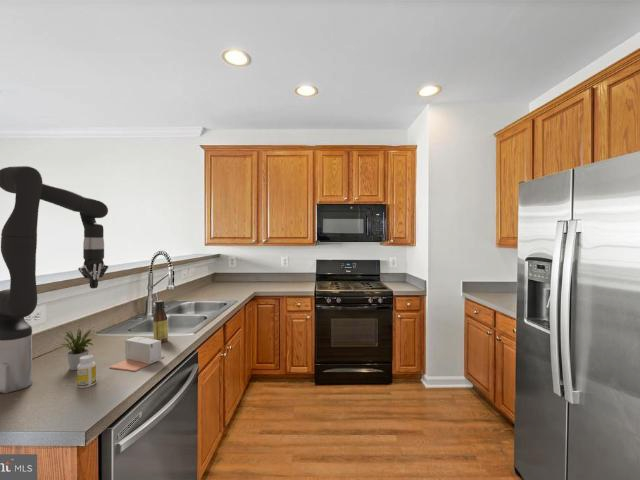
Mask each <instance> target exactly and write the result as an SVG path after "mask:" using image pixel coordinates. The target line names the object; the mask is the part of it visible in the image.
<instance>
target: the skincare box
mask: <svg viewBox="0 0 640 480" xmlns="http://www.w3.org/2000/svg"><path fill="white" fill-rule="evenodd" d="M124 351H125V352H124V354H125V357H124V360H127V359H129V360H134V361H138V362H142V363H146V364H150V365H151V363H152V364H154V363H156V362H159V361H161V360H162V359H161V356H162V343H161V341H160V340H154V338H153V339H152V338H148V337H142V336H134V337H131V338H128V339H125V340H124Z"/></svg>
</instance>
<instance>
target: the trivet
mask: <svg viewBox="0 0 640 480" xmlns="http://www.w3.org/2000/svg"><path fill="white" fill-rule="evenodd" d="M164 358H165V356H164V355H161V360H162V359H164ZM151 364H153V363H151ZM151 364H146V363H142V362H138V361H134V360H129V359H124V360H122V361H120V362H118V363H115V364H113V365H111V366H109V369H112V370H119V371H127V372H134V373H135V372H137V371H140V370H142V369H143V368H145V367H147V366H149V365H151Z"/></svg>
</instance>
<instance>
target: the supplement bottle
mask: <svg viewBox="0 0 640 480" xmlns="http://www.w3.org/2000/svg"><path fill="white" fill-rule="evenodd" d="M94 359H95V358H94V355H93V354H88V355H86V356H82V357H80V364H79V365H78V366H77V370H76V376H77V379H76V380H77V381H76V382H77V387H78V388H81V389H85V388H90V387H92V386H94V385H95V384H97V363H96V362H95V361H94Z"/></svg>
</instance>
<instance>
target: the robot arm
mask: <svg viewBox="0 0 640 480" xmlns="http://www.w3.org/2000/svg"><path fill="white" fill-rule="evenodd" d="M0 189H2V190H3V191H4V192H7V193H11V194H15V198H14V199H15V202H14V207H13V209H12V212H11V213H10V215H9V217H8V218H7V220H6V222H5V223H4V225H3V227H2V230H1V235H0V253H1V257H2V259H3V261H4V264H5V266H6V268H7V270H8V272H9V277H10V278H9V279H10V284H9V286H10V287H9V288H8V289H7V288H6V289H3V290H1V291H0V393H1V394H7V393H10V392H15V391H19V390H22V389H25V388H27V387H30V386H31V385H32V384H33V328H32V325H31V324H29V323H28V322H27V321H26V319H25V318H26V317H28V316H30V315H31V314H33V313H34V311H35V310H36V308H37V306H38V289H37V280H36V279H37V278H36V274H37V273H36V270H37V269H36V268H37V249H38V247H37V245H38V243H37V242H38V223H39V222H38V221H39V220H38V219H39V208H40V202H41V200H42V201H44V202H47V203H49V204H53V205H55V206H58V207H61V208H63V209H67V210H69V211H72V212H74V213H79V216H80V219H81V222H82V226H83V237H84V238H83V242H82V243H83V246H82V247H83V249H82V250H83V251H82V253H83V255H82V257H83V260H84V261H83V265H82V266H81V267H78V269H77V270H78V271H79V272H80V274H81V275H82V276H83V277H84V279H87V280H89V288H90V289H98V287H99V279H100V278H103V277H104V275H105V274H106V272H107V271H108V269H109V265H106V264H105V262H104V258H105V240H104V225H102V224H100V223H98V222H97V220H96V219H103V218H104V217H106V216H107V215H108V212H109V208H108V206H107V204H105V202H102V201H100V200H97V199H94V198H90V197H86V196H82V195H81V194H78V193H76V192H74V191H72V190H68V189H65V188H61V187H58V186H54V185H49V184H46V183H43V178H42V175H41V173H40V171H38V169H36V168H35V167H33V166H29V165H22V166H7V167H3V168H1V169H0Z"/></svg>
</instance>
